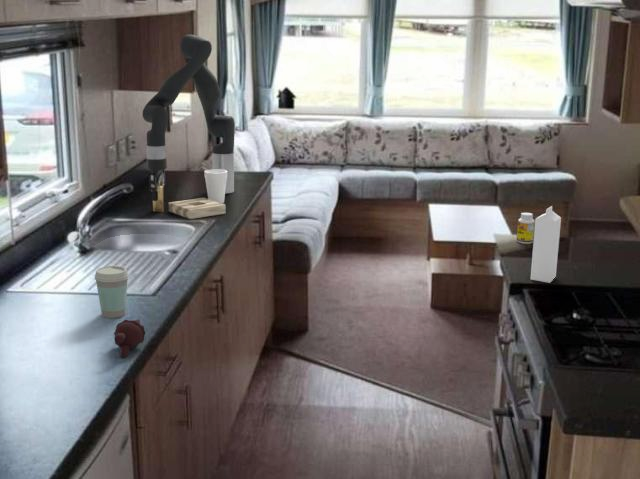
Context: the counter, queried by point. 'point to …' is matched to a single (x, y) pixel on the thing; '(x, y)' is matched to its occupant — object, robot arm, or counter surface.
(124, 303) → the coffee cup
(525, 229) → the supplement bottle
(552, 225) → the milk
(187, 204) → the plate
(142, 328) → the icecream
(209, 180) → the foam cup
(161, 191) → the brass cylinder
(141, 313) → the counter surface
